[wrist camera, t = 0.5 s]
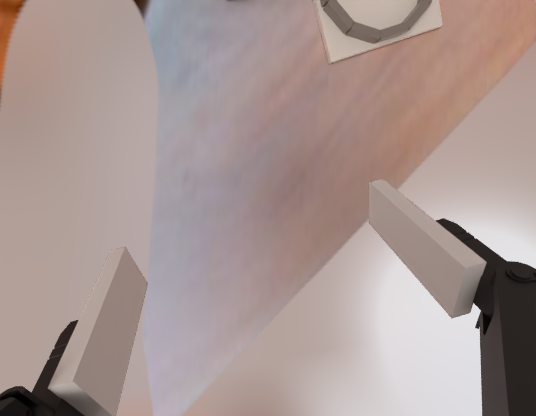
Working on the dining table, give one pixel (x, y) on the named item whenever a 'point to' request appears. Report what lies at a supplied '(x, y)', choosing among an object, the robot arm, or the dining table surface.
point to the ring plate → (372, 23)
